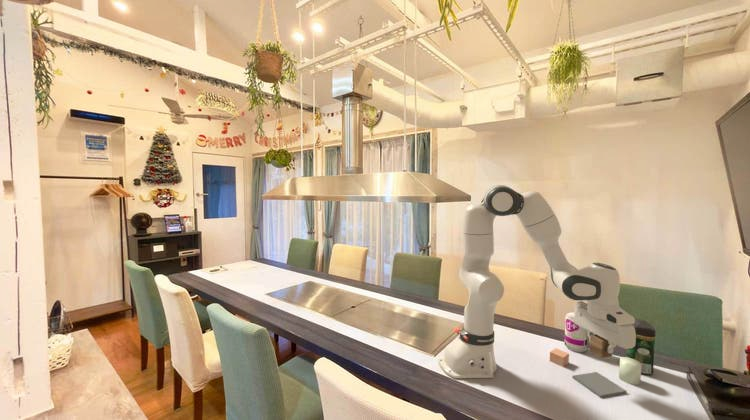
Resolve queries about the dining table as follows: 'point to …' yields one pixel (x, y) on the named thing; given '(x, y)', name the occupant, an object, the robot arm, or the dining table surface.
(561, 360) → the terracotta block
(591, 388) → the coaster
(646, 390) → the dining table surface
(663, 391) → the dining table surface
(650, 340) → the coffee jar
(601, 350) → the walnut block
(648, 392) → the dining table surface
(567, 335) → the supplement can
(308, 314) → the dining table surface
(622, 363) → the pale green capsule
